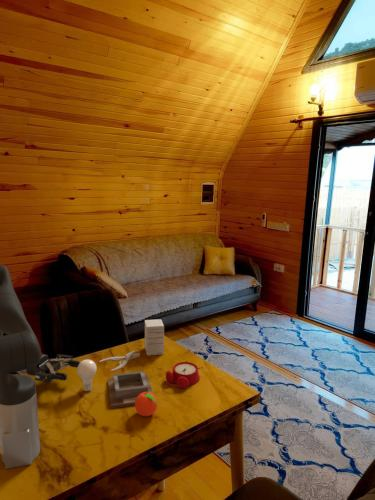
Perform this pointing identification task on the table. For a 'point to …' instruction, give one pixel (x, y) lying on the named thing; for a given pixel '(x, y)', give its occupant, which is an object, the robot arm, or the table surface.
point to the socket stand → (127, 388)
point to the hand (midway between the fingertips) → (73, 370)
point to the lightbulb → (86, 373)
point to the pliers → (127, 358)
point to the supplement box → (154, 337)
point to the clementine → (146, 404)
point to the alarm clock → (183, 374)
